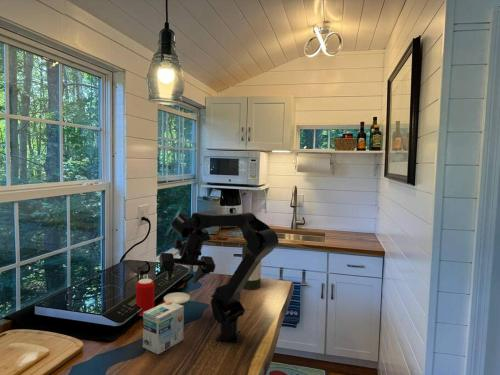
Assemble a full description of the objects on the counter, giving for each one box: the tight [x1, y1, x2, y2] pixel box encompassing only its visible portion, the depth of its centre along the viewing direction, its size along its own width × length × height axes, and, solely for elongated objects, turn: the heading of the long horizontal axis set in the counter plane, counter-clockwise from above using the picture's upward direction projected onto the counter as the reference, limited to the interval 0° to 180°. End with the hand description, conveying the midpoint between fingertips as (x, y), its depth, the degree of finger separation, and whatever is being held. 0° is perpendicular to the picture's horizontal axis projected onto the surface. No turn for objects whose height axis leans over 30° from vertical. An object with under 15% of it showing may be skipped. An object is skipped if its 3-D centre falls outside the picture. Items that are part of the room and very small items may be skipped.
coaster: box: [163, 292, 191, 305], centre depth 138 cm, size 10×10×1 cm
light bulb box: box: [142, 301, 185, 355], centre depth 105 cm, size 11×7×11 cm, turn 148°
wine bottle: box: [241, 228, 262, 291], centre depth 153 cm, size 8×8×30 cm
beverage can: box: [135, 278, 155, 317], centre depth 124 cm, size 6×6×12 cm
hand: (181, 282), depth 124 cm, fingers open, 9 cm apart
